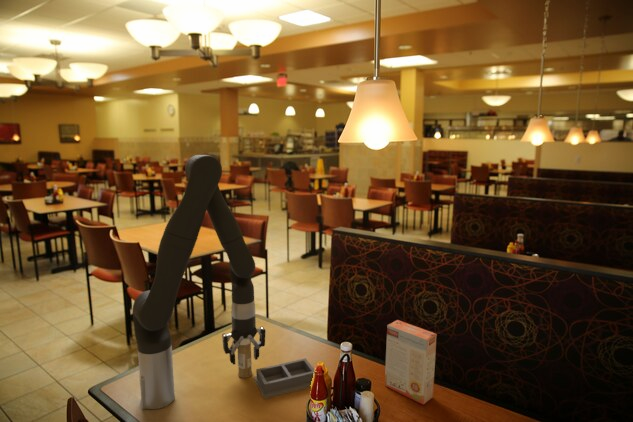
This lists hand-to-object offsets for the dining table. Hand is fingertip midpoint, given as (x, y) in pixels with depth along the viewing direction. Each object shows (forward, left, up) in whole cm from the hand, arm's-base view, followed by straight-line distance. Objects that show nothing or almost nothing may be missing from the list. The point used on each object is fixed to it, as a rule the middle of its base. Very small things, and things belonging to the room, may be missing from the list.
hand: (244, 360), depth 138 cm
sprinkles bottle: (0, 0, -5) cm, 5 cm away
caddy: (+11, -10, -5) cm, 15 cm away
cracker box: (+44, -29, -5) cm, 53 cm away
